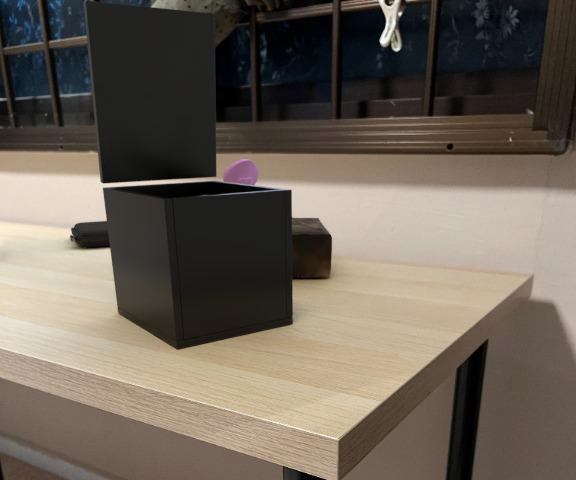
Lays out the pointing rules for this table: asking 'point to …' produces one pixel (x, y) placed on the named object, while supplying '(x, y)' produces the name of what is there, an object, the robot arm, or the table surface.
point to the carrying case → (91, 234)
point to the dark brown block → (310, 248)
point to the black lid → (152, 91)
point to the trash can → (201, 258)
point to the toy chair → (241, 172)
